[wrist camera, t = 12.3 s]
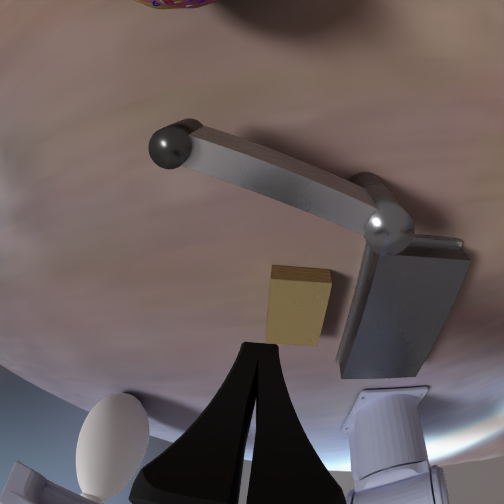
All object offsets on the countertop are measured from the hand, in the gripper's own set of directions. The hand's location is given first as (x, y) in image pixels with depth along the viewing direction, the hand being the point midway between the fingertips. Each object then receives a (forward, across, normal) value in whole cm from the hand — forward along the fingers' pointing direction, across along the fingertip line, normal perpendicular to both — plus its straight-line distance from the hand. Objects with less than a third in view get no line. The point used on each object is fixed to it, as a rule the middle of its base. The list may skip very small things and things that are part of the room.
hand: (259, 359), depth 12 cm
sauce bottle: (+10, +16, +23) cm, 30 cm away
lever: (+10, -1, -6) cm, 11 cm away
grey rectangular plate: (+10, -10, +5) cm, 15 cm away
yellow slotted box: (+8, -2, +5) cm, 10 cm away
